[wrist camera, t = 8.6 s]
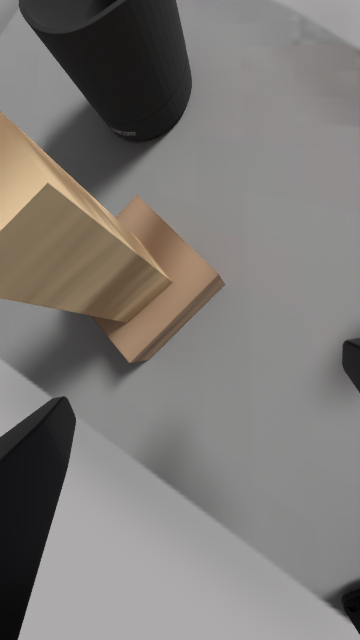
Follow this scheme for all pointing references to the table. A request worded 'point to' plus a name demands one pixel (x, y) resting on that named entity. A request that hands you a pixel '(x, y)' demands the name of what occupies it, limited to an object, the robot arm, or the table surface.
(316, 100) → the table surface
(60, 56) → the pen holder
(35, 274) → the oak pillar
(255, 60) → the table surface
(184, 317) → the light brown block
